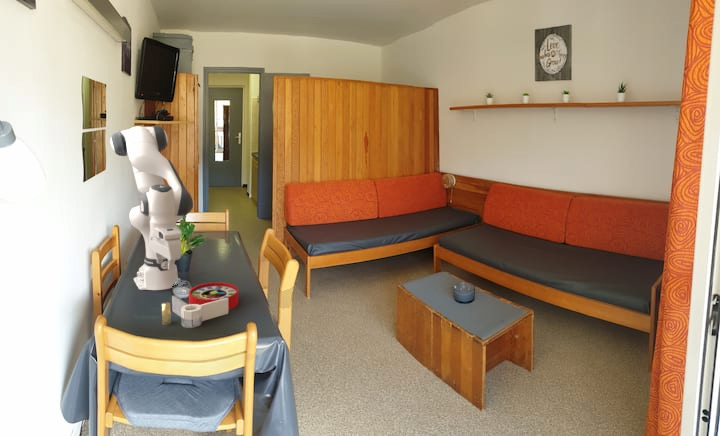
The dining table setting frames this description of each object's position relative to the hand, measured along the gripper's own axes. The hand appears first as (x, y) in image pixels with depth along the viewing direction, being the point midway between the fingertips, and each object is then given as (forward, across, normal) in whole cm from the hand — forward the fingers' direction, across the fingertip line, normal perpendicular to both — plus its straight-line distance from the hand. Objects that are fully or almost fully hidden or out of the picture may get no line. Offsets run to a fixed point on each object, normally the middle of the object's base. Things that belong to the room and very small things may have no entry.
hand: (165, 266), depth 167 cm
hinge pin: (+23, 0, 0) cm, 23 cm away
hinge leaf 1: (+23, 0, +7) cm, 24 cm away
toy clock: (+23, -7, +23) cm, 33 cm away
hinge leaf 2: (+23, +5, +13) cm, 27 cm away
